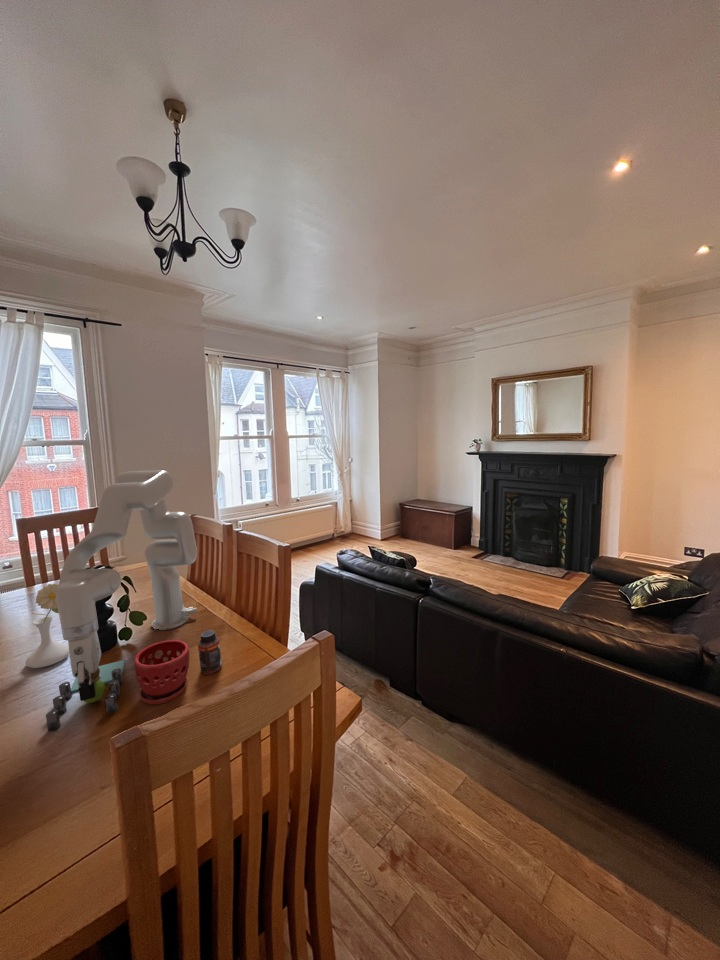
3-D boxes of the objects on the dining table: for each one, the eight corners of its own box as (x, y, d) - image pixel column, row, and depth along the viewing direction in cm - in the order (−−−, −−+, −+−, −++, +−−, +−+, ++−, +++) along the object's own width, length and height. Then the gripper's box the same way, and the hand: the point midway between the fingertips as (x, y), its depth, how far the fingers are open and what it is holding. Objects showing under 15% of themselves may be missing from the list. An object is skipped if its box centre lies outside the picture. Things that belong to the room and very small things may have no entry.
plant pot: (157, 716, 96) (151, 672, 95) (129, 698, 103) (123, 657, 102) (202, 685, 107) (198, 645, 106) (174, 671, 114) (170, 634, 113)
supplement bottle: (226, 664, 117) (223, 629, 115) (212, 676, 111) (209, 640, 110) (210, 661, 119) (206, 626, 117) (196, 673, 113) (192, 637, 111)
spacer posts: (123, 680, 111) (121, 667, 111) (117, 712, 98) (115, 697, 98) (62, 697, 105) (60, 683, 104) (47, 733, 92) (44, 718, 92)
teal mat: (124, 661, 120) (124, 659, 120) (120, 679, 112) (120, 677, 111) (78, 673, 115) (77, 671, 115) (70, 693, 106) (70, 691, 106)
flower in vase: (20, 676, 115) (7, 597, 112) (32, 657, 125) (19, 584, 122) (74, 662, 121) (62, 587, 118) (80, 645, 131) (70, 575, 128)
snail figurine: (86, 694, 105) (79, 653, 103) (110, 692, 105) (104, 651, 104) (73, 708, 100) (65, 666, 98) (98, 706, 100) (92, 664, 98)
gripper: (91, 639, 93) (102, 706, 96) (102, 610, 108) (111, 669, 111) (53, 648, 90) (65, 718, 93) (70, 616, 105) (80, 677, 108)
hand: (90, 690), depth 102 cm, fingers closed on snail figurine, 5 cm apart
